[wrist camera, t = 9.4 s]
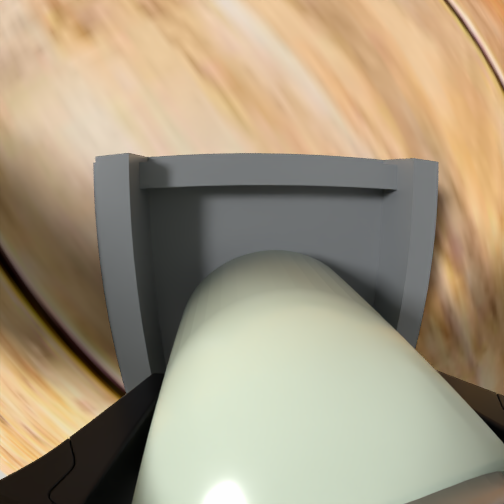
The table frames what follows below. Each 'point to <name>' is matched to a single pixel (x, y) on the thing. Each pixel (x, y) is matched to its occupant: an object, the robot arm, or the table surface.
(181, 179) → the grey rectangular tray
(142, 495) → the jar
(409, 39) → the table surface
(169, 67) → the table surface
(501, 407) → the robot arm
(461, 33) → the table surface
